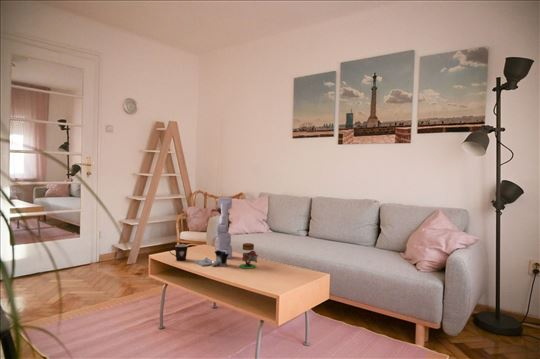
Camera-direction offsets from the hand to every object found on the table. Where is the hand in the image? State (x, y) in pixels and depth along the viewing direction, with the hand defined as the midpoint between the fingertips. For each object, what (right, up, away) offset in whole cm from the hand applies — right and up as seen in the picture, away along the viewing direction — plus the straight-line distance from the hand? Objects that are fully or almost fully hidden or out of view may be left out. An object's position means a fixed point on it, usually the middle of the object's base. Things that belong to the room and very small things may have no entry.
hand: (221, 262), depth 241 cm
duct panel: (-11, -1, +3) cm, 12 cm away
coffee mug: (-31, -1, +10) cm, 32 cm away
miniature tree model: (+18, -3, -2) cm, 18 cm away
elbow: (-2, -2, -1) cm, 3 cm away
